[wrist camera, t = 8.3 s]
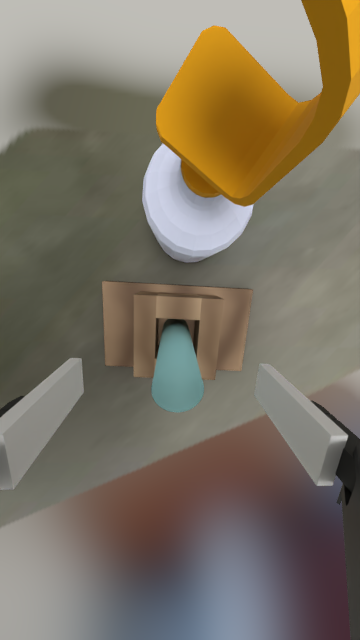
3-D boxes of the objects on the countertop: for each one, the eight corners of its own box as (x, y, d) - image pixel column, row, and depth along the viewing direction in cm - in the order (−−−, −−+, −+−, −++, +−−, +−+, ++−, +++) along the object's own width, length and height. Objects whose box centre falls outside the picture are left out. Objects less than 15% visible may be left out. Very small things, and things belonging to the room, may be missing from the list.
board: (108, 361, 29) (92, 382, 23) (105, 280, 26) (86, 282, 20) (238, 366, 30) (253, 388, 24) (249, 289, 27) (269, 293, 21)
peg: (162, 340, 27) (150, 411, 13) (163, 315, 26) (152, 365, 13) (187, 341, 27) (201, 412, 14) (189, 317, 26) (206, 367, 13)
